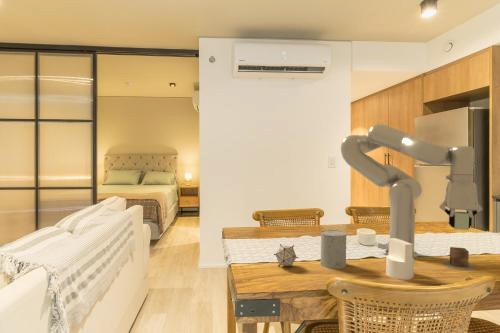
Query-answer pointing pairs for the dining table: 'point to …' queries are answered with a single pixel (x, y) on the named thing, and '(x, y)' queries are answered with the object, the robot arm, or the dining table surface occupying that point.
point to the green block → (461, 220)
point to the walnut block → (459, 257)
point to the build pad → (458, 267)
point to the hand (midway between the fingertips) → (459, 226)
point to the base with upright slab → (400, 260)
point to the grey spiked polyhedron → (286, 255)
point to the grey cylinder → (333, 249)
